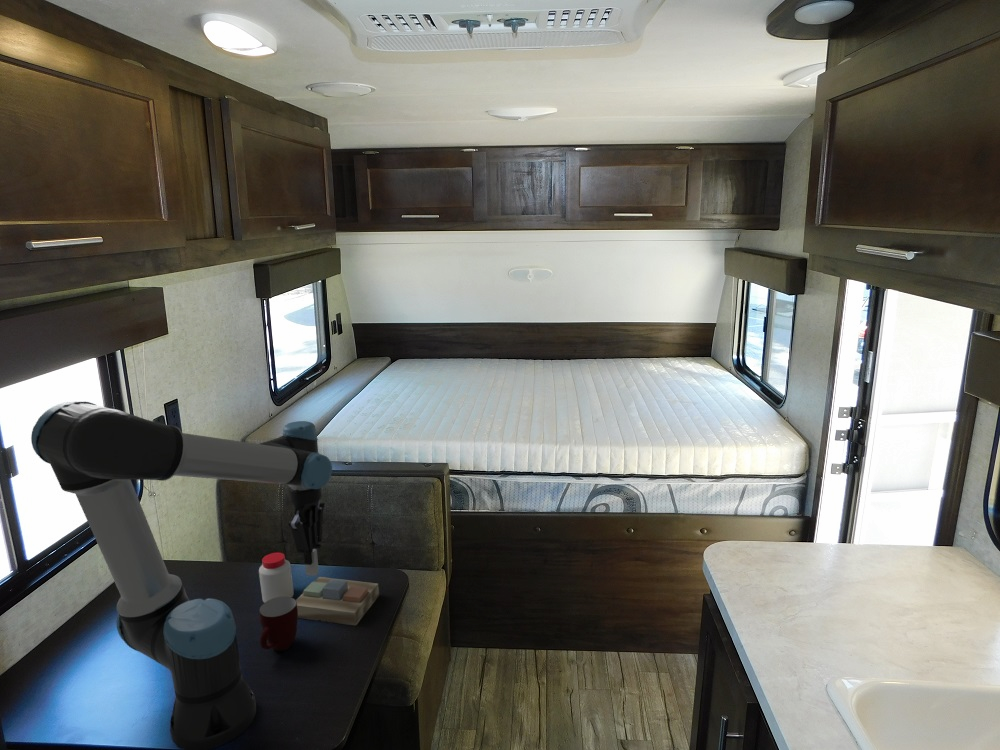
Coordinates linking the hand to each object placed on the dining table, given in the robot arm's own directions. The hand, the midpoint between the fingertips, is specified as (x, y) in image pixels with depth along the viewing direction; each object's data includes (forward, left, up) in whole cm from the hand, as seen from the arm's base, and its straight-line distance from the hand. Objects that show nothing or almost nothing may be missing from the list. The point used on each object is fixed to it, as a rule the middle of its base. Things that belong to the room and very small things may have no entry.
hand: (312, 573), depth 158 cm
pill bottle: (+2, +12, -9) cm, 15 cm away
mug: (-17, -1, -9) cm, 20 cm away
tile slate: (+1, -6, -6) cm, 8 cm away
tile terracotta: (+1, -11, -7) cm, 13 cm away
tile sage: (+1, 0, -7) cm, 7 cm away
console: (+1, -6, -9) cm, 10 cm away
